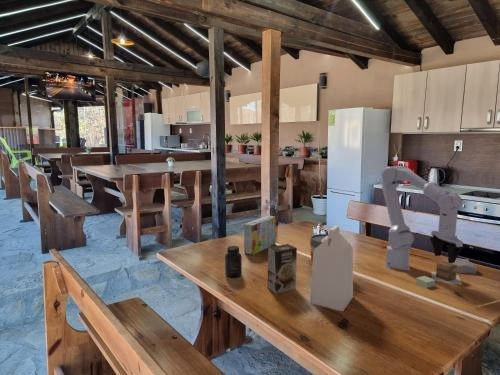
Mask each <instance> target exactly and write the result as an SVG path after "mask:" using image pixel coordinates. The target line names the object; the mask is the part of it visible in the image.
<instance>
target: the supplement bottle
mask: <svg viewBox="0 0 500 375" xmlns="http://www.w3.org/2000/svg"><path fill="white" fill-rule="evenodd" d="M226 249H227V250H226V252H227V253H226V254H225V255H224V268H225V270H224V272H225V273H224V275H225V276H226V278H228V279H239V278H241V277H242V274H243V267H242V266H243V263H242V262H243V260H242V259H243V258H242V254H241V253H240V247H239V246H238V245H229V246H227V248H226Z"/></svg>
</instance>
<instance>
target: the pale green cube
mask: <svg viewBox="0 0 500 375" xmlns="http://www.w3.org/2000/svg"><path fill="white" fill-rule="evenodd" d="M415 279H416V281H415V284H416V285H419V286H421V287H423V288H425V289H428V288H432V287H435V286H436V281H435V280H433V279H432V277H428V276H426V275H422V276H419V277H416V278H415Z"/></svg>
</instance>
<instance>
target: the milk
mask: <svg viewBox="0 0 500 375" xmlns="http://www.w3.org/2000/svg"><path fill="white" fill-rule="evenodd" d="M328 234H329V235H328V236H326V237H324V238H323V239H322V240H321V241H322V244H320V245H319V246H318V247H317V248H316V249H315V250H314V252H313V262H312V264H311V265H312V268H311V284H310V296H309V297H310V298H309V303H310V304H313V305H317V306H320V307H325V308H328V309H332V310H337V311H340V312H344V310H346V307H347V306H348V305H349V303H350V302H351V300H352V299H353V298H354V268H353V267H354V263H353V262H354V257H353V256H354V252H353V251H354V250H353V247H352V244H351V243H350V242H349V241H348V240H347V239H346V238H345V237H344V236H343V235H342V234H341V233H340V226H338V225H334V226H333V227H332V228H330V229H329V231H328Z"/></svg>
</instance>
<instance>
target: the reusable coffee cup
mask: <svg viewBox="0 0 500 375" xmlns="http://www.w3.org/2000/svg"><path fill="white" fill-rule="evenodd" d="M328 235H329V233H328V234H327V233H326V234H325V233H319V234H318V233H317V234H314V235H311V236H310V240H309V241H310V242H309V245H310V252H309V253H310V259H311V262H312V263H313V252H314V250H315V249H316V248H317V247H318V246H319V245H320V244H322V241H321V240H322V239H323V238H324V237H326V236H328Z"/></svg>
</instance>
